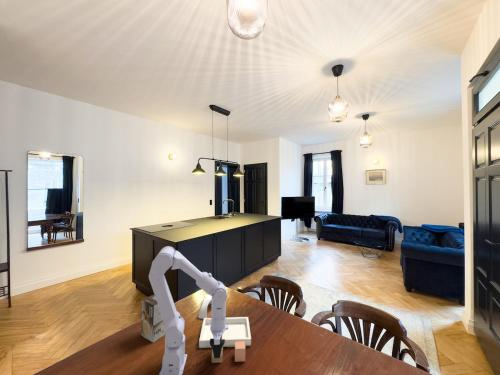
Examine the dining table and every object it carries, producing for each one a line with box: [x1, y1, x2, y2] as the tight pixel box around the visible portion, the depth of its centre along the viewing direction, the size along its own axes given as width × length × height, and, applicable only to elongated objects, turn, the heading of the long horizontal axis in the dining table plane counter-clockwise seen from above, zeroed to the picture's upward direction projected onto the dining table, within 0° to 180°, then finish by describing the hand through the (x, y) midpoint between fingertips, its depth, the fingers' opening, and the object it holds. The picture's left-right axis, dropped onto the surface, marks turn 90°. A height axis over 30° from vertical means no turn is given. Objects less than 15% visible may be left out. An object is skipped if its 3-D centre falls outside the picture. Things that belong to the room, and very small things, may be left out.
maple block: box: [211, 347, 224, 364], centre depth 85 cm, size 4×4×5 cm
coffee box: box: [140, 294, 165, 343], centre depth 97 cm, size 9×6×16 cm
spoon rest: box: [197, 293, 212, 320], centre depth 122 cm, size 24×12×7 cm, turn 170°
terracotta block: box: [234, 341, 246, 363], centre depth 86 cm, size 4×4×5 cm
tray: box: [198, 316, 252, 349], centre depth 99 cm, size 16×22×3 cm
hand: (217, 349), depth 85 cm, fingers open, 7 cm apart
